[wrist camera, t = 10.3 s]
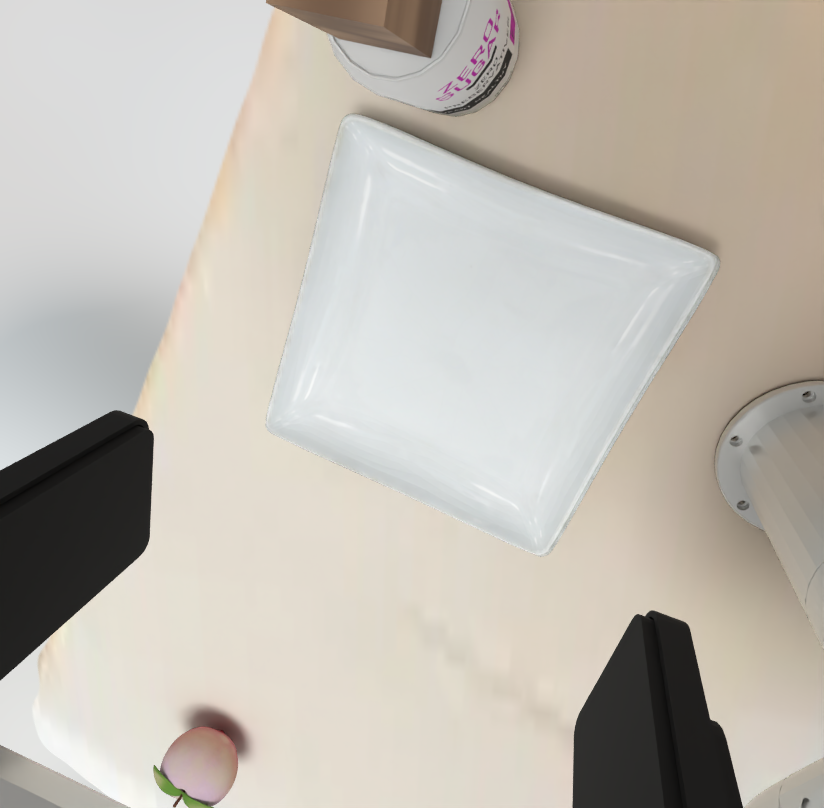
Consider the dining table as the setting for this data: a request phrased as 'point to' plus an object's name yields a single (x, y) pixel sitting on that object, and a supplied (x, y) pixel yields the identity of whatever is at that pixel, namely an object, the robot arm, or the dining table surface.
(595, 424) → the square plate
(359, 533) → the dining table surface
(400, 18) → the walnut block
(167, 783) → the decorative fruit
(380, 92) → the supplement can
